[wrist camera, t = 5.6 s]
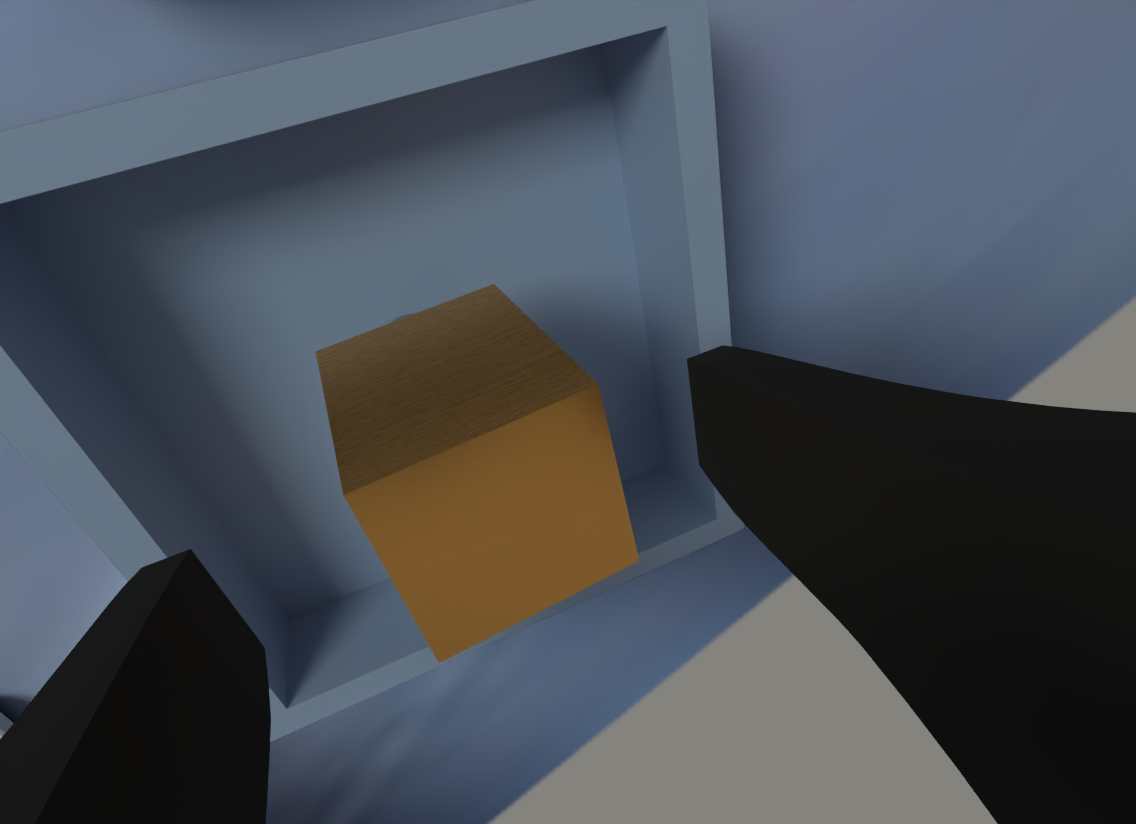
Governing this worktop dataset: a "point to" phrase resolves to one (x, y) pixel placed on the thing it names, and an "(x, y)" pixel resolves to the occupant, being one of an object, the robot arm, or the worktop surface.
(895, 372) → the worktop surface
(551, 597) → the orange rectangular block
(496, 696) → the worktop surface
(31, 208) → the tray
